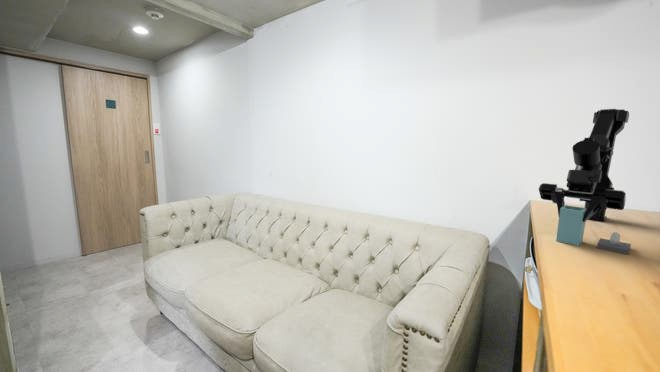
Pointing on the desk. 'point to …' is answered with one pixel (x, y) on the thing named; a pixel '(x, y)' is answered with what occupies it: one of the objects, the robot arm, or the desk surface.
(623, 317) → the desk surface
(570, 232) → the teal sleeve
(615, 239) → the dark grey square plate
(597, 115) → the robot arm
